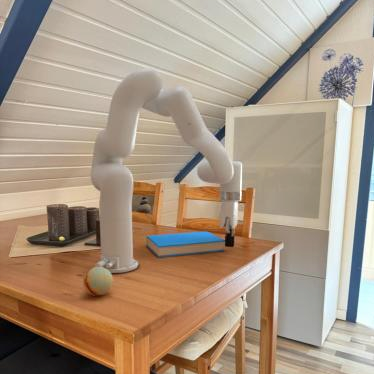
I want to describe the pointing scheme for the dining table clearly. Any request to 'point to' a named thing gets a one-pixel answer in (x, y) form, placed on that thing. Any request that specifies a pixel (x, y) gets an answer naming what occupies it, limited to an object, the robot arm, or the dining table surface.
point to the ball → (98, 281)
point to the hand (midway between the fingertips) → (229, 246)
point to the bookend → (97, 240)
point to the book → (185, 243)
